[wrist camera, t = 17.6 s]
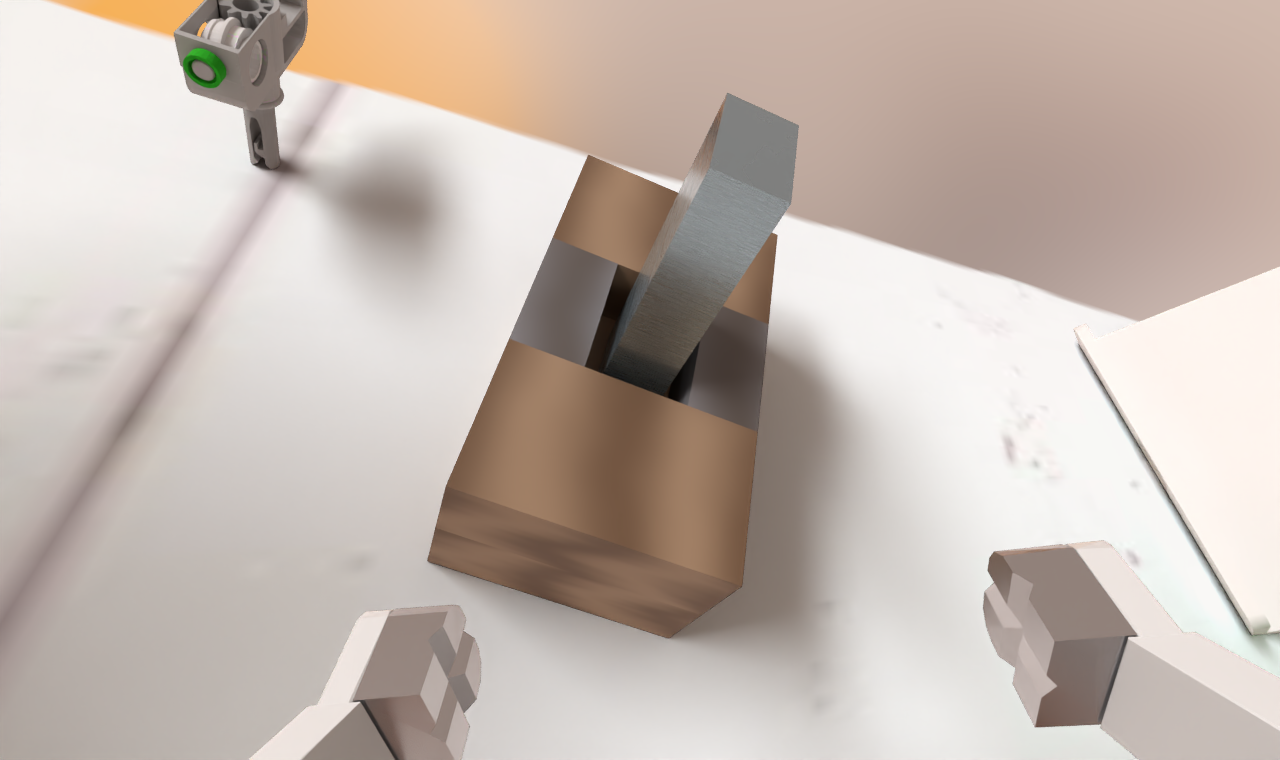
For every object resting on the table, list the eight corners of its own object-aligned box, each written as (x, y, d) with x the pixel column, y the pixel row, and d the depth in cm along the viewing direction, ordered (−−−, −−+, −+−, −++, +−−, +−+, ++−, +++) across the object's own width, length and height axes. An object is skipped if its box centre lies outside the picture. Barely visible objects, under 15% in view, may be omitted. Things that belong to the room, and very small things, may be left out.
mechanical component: (320, 120, 44) (313, -36, 36) (258, 224, 38) (234, 63, 30) (271, 105, 43) (254, -58, 36) (200, 209, 37) (161, 39, 30)
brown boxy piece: (427, 561, 31) (445, 486, 25) (555, 252, 45) (588, 154, 38) (668, 638, 33) (742, 586, 26) (720, 318, 46) (777, 235, 40)
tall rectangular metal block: (587, 405, 34) (709, 167, 22) (609, 333, 37) (727, 92, 25) (642, 425, 34) (790, 203, 23) (660, 353, 37) (798, 125, 26)
